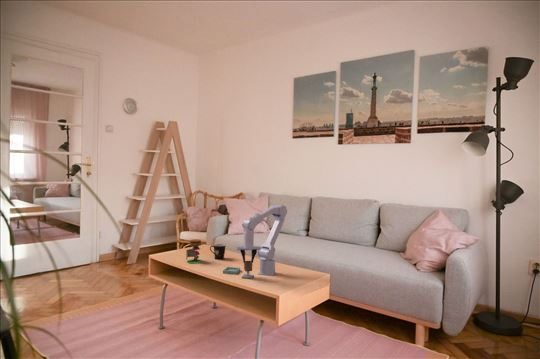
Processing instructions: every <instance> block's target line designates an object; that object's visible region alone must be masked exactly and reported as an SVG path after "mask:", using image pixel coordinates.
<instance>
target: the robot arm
mask: <svg viewBox="0 0 540 359" xmlns="http://www.w3.org/2000/svg"><path fill="white" fill-rule="evenodd" d="M287 214H288V208H287V206H286V205H283V204H282V205H281V204H280V205H279V204H276V203H275V204H271V205H269V207H268V208H267V209H265V210H264V211H263V212H261V213H255V214H254V215H252V216H250V217H249V218H246V219H244V220H243V221H242V223H241V226H242V228H243V246H236V248H235V250H236V252H240V253H241V256H242V263H243V264H244V263H245V261H246V251H251V260H250V261H252V264H253V263H254V260H255V257H256V254H257V256H258V257H259V258H258V259H259V272H258V273H257V275H262V276H274V274H275V273H276V260H275V259H273V258H275V253H276V248H275V244H276V242H277V239H278V238H279V234H280V232H281V230H282V227H283V226H284V223H285V220H286V217H287ZM271 215H272V217H273V219H274V223H273V226H272V228H271V230H270V232H269V234H268V236H267V238H266V241H265V242H264V243H263V244H261V246H260V245H259V246H257V245H254V240H255V239H254V237H255V236H254V234H255V229H256V228H257V226H258V225H259V224H261V223H263V221H264V219H265V218H267V217H269V216H271Z"/></svg>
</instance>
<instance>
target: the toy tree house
mask: <svg viewBox="0 0 540 359" xmlns="http://www.w3.org/2000/svg"><path fill="white" fill-rule="evenodd" d="M201 245H202V240H201V239H190V240H189V246H190V247H191V248H189V249H186V250H185V260H186V262H187V263H188V264H190V265H191V264H194V265H196V264H197V263H198V264H201V263H203V262H204V260H203V259H198V258H200V256H199V255H200V252H199V250H201V248H200V247H201ZM188 258H192V259H189V260H188ZM198 264H197V265H198Z"/></svg>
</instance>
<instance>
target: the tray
mask: <svg viewBox="0 0 540 359" xmlns="http://www.w3.org/2000/svg"><path fill="white" fill-rule="evenodd" d="M240 271H241V267H233V266H226V267H225V268H224V269H223V270H222V274H225V275H226V274H228V275H237V274H239V272H240Z"/></svg>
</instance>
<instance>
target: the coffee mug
mask: <svg viewBox="0 0 540 359" xmlns="http://www.w3.org/2000/svg"><path fill="white" fill-rule="evenodd" d="M212 248H213V250H212ZM209 250H210V252H211V253H213V255H214V260H218V261H219V260H220V261H221V260H224V259H225V254H226V244H224V243H216V244H213V245H210V247H209Z"/></svg>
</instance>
